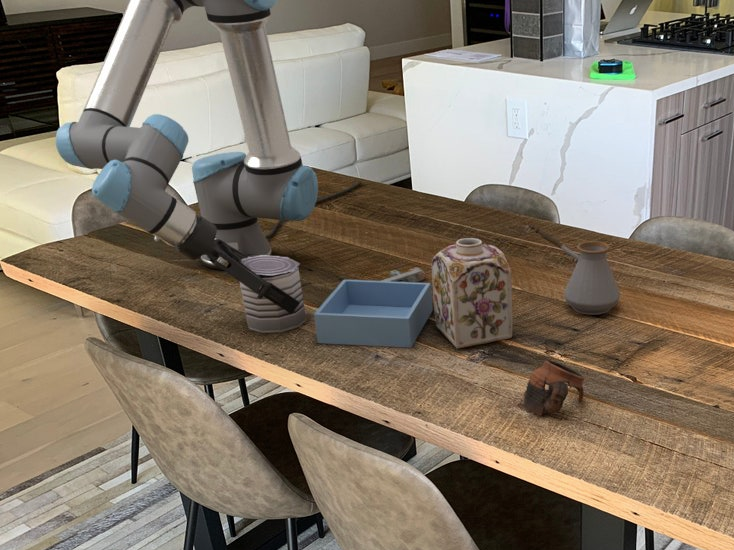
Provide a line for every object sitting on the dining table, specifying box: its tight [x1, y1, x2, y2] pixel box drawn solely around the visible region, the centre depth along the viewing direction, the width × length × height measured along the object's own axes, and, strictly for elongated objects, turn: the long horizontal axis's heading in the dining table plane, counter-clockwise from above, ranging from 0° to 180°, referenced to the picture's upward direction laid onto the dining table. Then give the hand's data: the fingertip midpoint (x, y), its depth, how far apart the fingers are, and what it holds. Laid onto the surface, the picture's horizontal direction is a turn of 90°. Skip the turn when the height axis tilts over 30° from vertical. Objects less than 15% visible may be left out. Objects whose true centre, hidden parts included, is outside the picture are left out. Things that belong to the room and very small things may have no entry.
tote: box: [313, 278, 434, 349], centre depth 166 cm, size 18×18×6 cm
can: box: [238, 255, 307, 334], centre depth 166 cm, size 11×11×12 cm
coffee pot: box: [524, 222, 621, 316], centre depth 175 cm, size 21×12×15 cm, turn 59°
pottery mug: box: [521, 359, 585, 417], centre depth 139 cm, size 12×10×8 cm
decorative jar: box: [430, 237, 514, 350], centre depth 161 cm, size 12×12×18 cm
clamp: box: [380, 266, 425, 283], centre depth 184 cm, size 15×2×10 cm
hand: (287, 297), depth 168 cm, fingers open, 11 cm apart
